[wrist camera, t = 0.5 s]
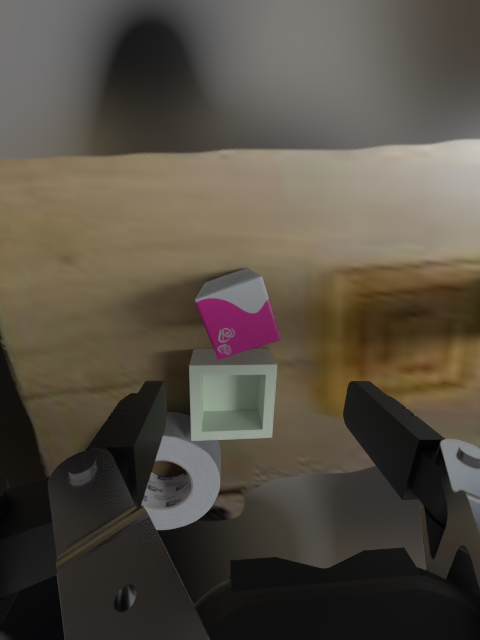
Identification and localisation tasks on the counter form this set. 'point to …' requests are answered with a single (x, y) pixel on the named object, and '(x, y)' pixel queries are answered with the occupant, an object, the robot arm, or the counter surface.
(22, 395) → the counter surface
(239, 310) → the supplement box
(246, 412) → the holder
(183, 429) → the tape roll
